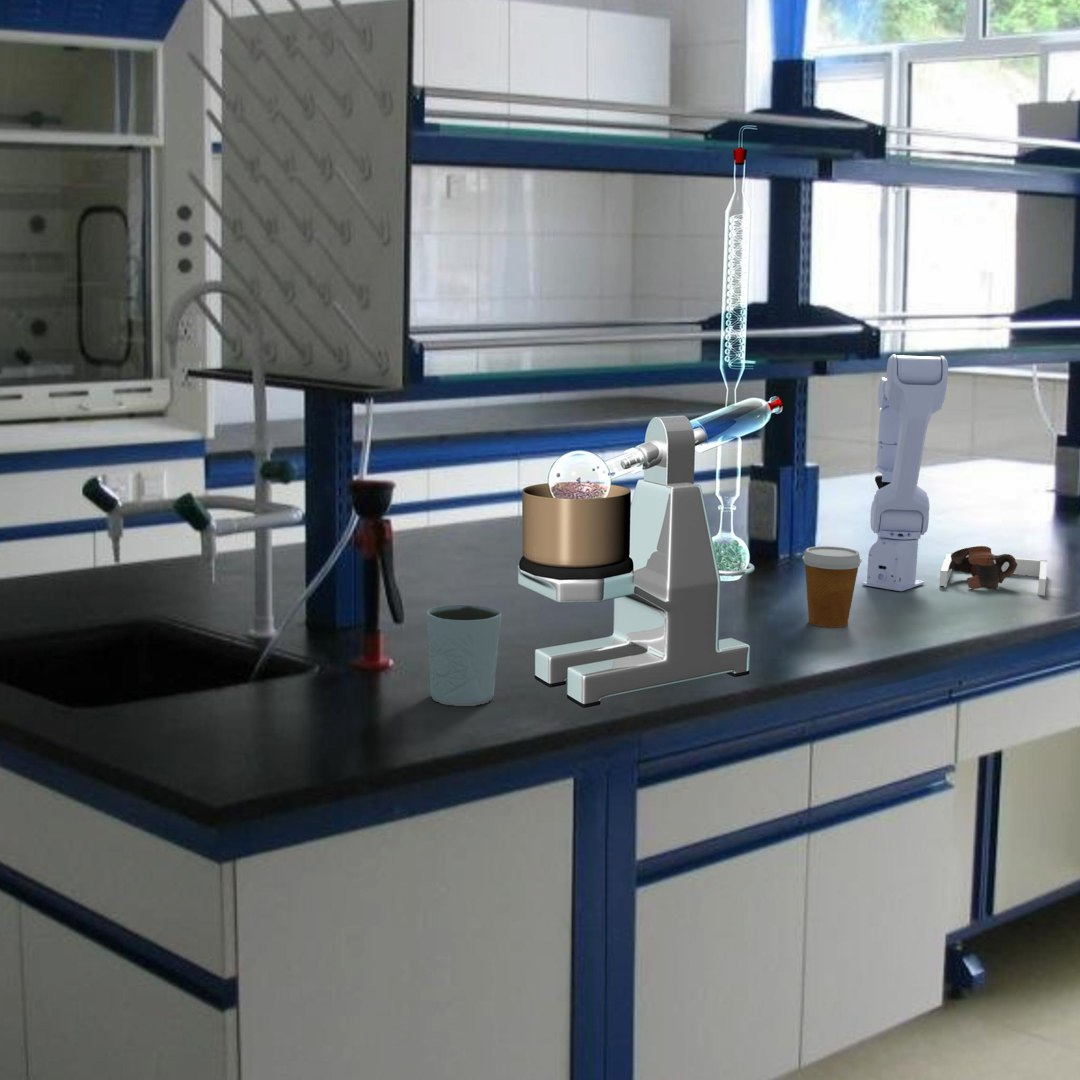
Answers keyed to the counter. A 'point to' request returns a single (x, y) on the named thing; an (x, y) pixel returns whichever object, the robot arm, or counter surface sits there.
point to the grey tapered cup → (463, 652)
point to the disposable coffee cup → (830, 584)
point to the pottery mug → (982, 566)
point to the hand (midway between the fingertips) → (888, 514)
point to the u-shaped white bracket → (1023, 568)
